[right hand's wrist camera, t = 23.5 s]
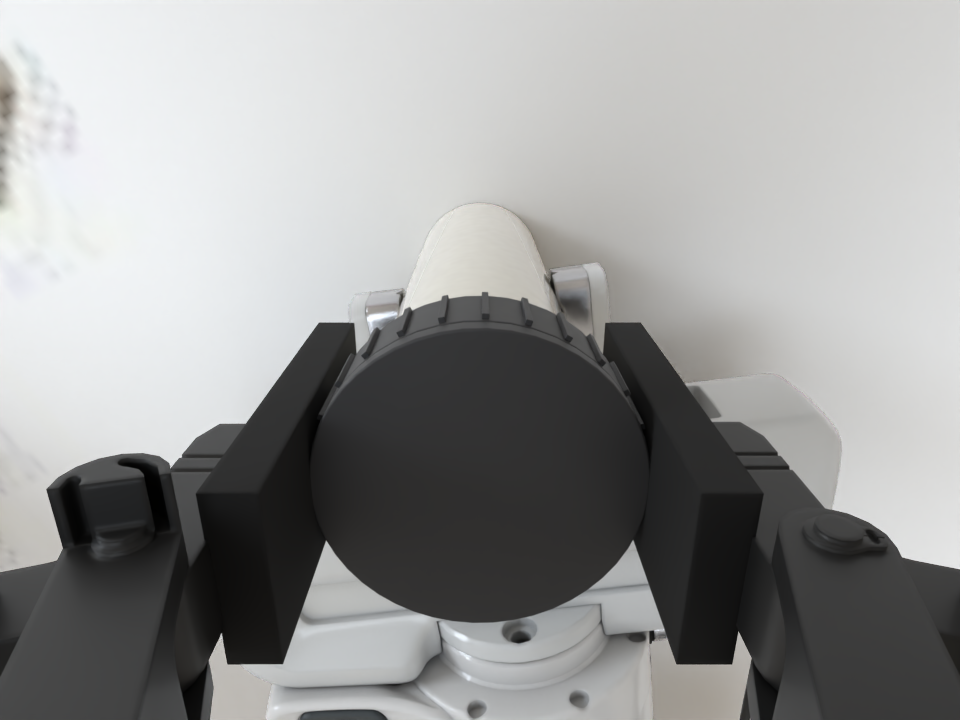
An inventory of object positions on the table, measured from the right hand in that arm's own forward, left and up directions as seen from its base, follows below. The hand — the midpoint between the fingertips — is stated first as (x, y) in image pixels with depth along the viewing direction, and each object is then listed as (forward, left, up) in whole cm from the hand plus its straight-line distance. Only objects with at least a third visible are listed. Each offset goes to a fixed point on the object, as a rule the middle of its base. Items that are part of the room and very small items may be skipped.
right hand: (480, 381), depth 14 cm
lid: (0, 0, +4) cm, 4 cm away
